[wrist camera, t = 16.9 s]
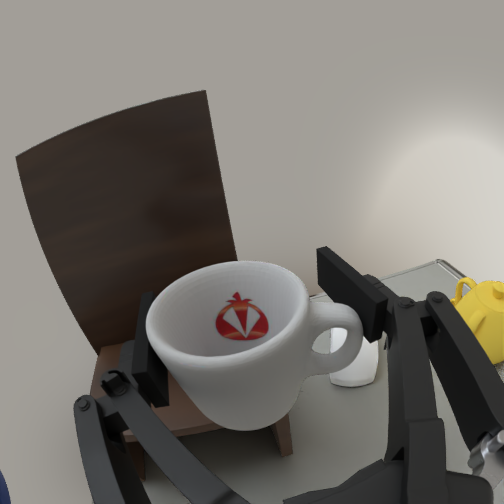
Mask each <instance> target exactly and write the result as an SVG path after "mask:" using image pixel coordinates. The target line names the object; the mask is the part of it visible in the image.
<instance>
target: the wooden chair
mask: <svg viewBox="0 0 504 504" xmlns="http://www.w3.org/2000/svg"><path fill="white" fill-rule="evenodd" d="M16 162H17V167H18V171H19V176H20V180H21V184H22V188H23V192H24V195H25V199H26V202H27V206H28V209H29V212H30V215H31V219H32V221H33V225H34V228H35V230H36V233H37V236H38V238H39V241H40V244H41V247H42V249H43V252H44V254H45V256H46V259H47V261H48V264H49V266H50V268H51V271H52V273H53V275H54V277H55V279H56V282H57V284H58V286H59V288H60V290H61V292H62V294H63V296H64V298H65V300H66V302H67V304H68V306H69V307H70V309H71V311H72V313H73V315H74V317H75V319H76V321H77V322H78V324H79V326H80V328H81V329H82V331H83V333H84V334H85V336H86V337H87V339H88V341H89V342H90V344H91V346H92V347H93V349H94V350H95V352H96V353H97V355H98V358H97V362H96V367H95V371H94V375H93V380H92V385H91V390H90V395H91V396H92V397H94V399H97V398H100V397H102V396H104V395H106V392H105V391H104V390H103V389H102V387H101V386H100V383H99V381H100V377H101V376H102V374H103V373H104V372H106V371H107V370H109V369H111V368H118V363H119V357H120V350H121V347H122V346H123V344H124V343H125V341H130V340H135V335H136V327H137V321H138V314H139V308H140V302H141V296H142V293H147V292H151V291H153V292H154V294H155V297H156V298H157V296H158V295H159V294H160V293H161V292H162V291H163V290H164V289H165V288H167V287H168V286H169V285H170V284H172V283H173V282H175V281H176V280H178V279H180V278H181V277H183V276H185V275H187V274H189V273H191V272H193V271H196V270H199V269H201V268H204V267H207V266H211V265H215V264H219V263H225V262H232V261H238V260H237V255H236V251H235V245H234V240H233V235H232V230H231V225H230V219H229V214H228V209H227V204H226V199H225V193H224V189H223V183H222V178H221V172H220V167H219V161H218V156H217V151H216V146H215V140H214V134H213V128H212V123H211V117H210V111H209V106H208V100H207V94H206V90H201V91H195V92H190V93H185V94H181V95H176V96H171V97H167V98H163V99H159V100H155V101H151V102H147V103H144V104H140V105H137V106H134V107H130V108H127V109H123V110H121V111H117V112H115V113H111V114H108V115H106V116H103V117H100V118H97V119H94V120H92V121H89V122H86V123H84V124H81V125H79V126H77V127H74V128H72V129H69V130H67V131H65V132H62V133H60V134H58V135H56V136H54V137H51V138H49V139H47V140H45V141H43V142H41V143H39V144H37V145H35V146H33V147H31V148H29V149H28V150H26V151H24V152H22V153H20V154H18V155H17V156H16ZM168 387H169V404H170V406H166V407H159V408H155V407H154V406H153V404H152V403H151V409H152V410H153V411H154V413H155V414H156V415H157V416H158V417H159V419H160V420H161V421H162V422H163V423H164V424H165V425H166V427H167V428H168V429H169V430H170V431H171V432H172V433H173V434H174V435H175V436H176V437H178V436H185V435H191V434H196V433H202V432H207V431H212V430H216V429H221V428H225V427H223V426H221V425H218V424H216V423H215V422H213V421H212V420H210V419H209V418H208V417H206V416H205V415H204V414H203V413H202V412H201V411H200V410H199V408H198V407H197V406H196V405H195V404H194V402H193V401H192V400H191V399H190V397H189V396H188V395H187V394H186V392H185V391H184V390H183V389H182V387H181V386H180V385H179V383H178V382H177V381H176V380H175V378H174V377H173V376H172V374H171V373H170V372H169V370H168ZM270 426H271V429H272V432H273V434H274V437H275V439H276V442H277V445H278V447H279V450H280V452H281V455H282V457H285V456H288V455H291V454H293V450H292V441H291V433H290V424H289V415H288V413H287V414H286V415H285V416H284V417H282V418H281V419H280V420H278V421H277V422H275V423H273V424H271V425H270ZM123 435H124V438H125V441H126V444H127V446H128V449H129V452H130V455H131V457H132V460H133V463H134V465H135V468H136V470H137V473H138V475H139V478H140V480H141V481H145V469H144V450H143V447H142V445H141V444H140V443H139V441H138V440H137V439H136V437H135V436H134V434H133V433H132V432H131V430H130V429H129V430H126V431H124V432H123Z"/></svg>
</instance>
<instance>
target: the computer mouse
mask: <svg viewBox="0 0 504 504" xmlns="http://www.w3.org/2000/svg"><path fill="white" fill-rule="evenodd" d="M346 336H347V330H346V329H343V328H331V329H330V337H331V344H330V353H333V352H335V351H337V350H338V349H339V348H340V347H341V346H342V345H343V343H344V342H345V340H346ZM377 365H378V340H377V341H375V342H373V343H369V342H368V341H367V340H366V338H365V337H364V336H363V342H362V347H361V349H360V352H359V354H358V355H357V357H356V359H355V360H354V361H353V362H352V363H351V364H350V365H349V366H347V367H346V368H344V369H342V370H340V371H338V372H334V373H330V374H329V377H330V381H331V383H333V384H336V385H340V386H347V387H356V386H362V385H366V384H369V383H371V382H373V381H374V378H375V374H376V370H377Z"/></svg>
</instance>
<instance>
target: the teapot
mask: <svg viewBox="0 0 504 504" xmlns="http://www.w3.org/2000/svg"><path fill="white" fill-rule="evenodd" d="M464 283H466V284H467V285H469V287H470V288H471V290H470V291H469V292H468V293H467V294H466V295H465V296H464V297H463V298H462V288H463V284H464ZM450 302H451V303H452V304H453V306H454V307H455V308H456V310H457V311H458V312H459V314H460V315H461V316H462V318H463V319H464V321H465V322H466V324H467V325H468V326H469V328H470V329H471V331H472V332H473V334H474V335H475V337H476V338H477V340H478V341H479V343H480V344H481V346H482V348H483V349H484V351H485V352H486V354H487V356H488V357H489V359H490V361H491V362H492V364H497V363H500V362H502V361H503V360H504V283H502V282H499V281H496V282H495V281H484V282H481V283H479V284H478V285H477V284H476V283H475V281H474V280H473V279H471V278H468V277H465V278H462V279H460V280H459V282H458V283H457V286H456V294H455V298H452V299H451V300H450ZM454 302H455V303H454Z"/></svg>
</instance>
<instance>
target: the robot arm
mask: <svg viewBox="0 0 504 504" xmlns="http://www.w3.org/2000/svg"><path fill="white" fill-rule="evenodd" d="M317 270H318V271H317V272H318V285H319V286H320V287H321V288H322V289H323V290H324V291H325V293H326V294H327V295H328V296H329V297H330V298H331V299H332V300H333V302H334V303H339V304H344V305H347V306H349V307H350V308H352V309H353V310H354V311H355V312H356V313H357V314H358V316H359V318H360V320H361V323H362V326H363V336H364V337H365V338H366V340H367V341H368V342H369V343H373V342H375V341H377V340H379V339H381V337H382V332H383V331H384V332H385V333H386V334H387V337H386V341H385V346H384V350H386V347H387V362H388V385H389V424H388V445H387V450H386V454H385V457H384V462H383V460H382V459H380V460H378V461H376V462H374V463H373V464H371V465H369V466H367V467H365V468H363V469H361V470H359V471H358V472H357V473H355V474H354V475H353V476H351V477H350V478H349V479H348V480H346V481H345V482H344V483H342V484H341V485H339V486H338V487H334V488H329V489H323V490H317V491H310V492H306V493H304V494H301V495H298V496H294V497H291V498H288V499H285V500H283V502H284V503H283V504H493V489H494V488H495V487H496V486H497V485H498V483H499V482H500V481H501V480H502V479H503V478H504V383H503V381H502V380H501V378H500V376H499V374H498V372H497V371H496V369H495V367H494V366H493V364H492V362H491V361H490V359H489V357H488V356H487V354H486V352H485V351H484V349H483V348H482V346H481V344H480V343H479V341H478V340H477V338H476V337H475V335H474V334H473V332H472V331H471V329H470V328H469V326H468V325H467V324H466V322H465V321H464V319H463V318H462V316H461V315H460V314H459V312H458V311H457V310H456V308H455V307H454V306H453V304H452V303H451V302H450V300H449V299H448V298H447V296H446V295H445V294H443V293H441V292H437V291H433V292H430V293H428V295H427V298H426V300H424V301H419V302H415V301H414V300H413V299H411V298H408V297H399V296H397V295H396V294H395V293H394V292H393V291H391V290H390V289H389V288H388V287H387V286H385V285H384V284H383V283H382V282H381V281H379V280H378V279H377V278H376V277H374V276H371V275H369V274H367V275H364V276H362V275H361V274H360V273H359V272H357V271H356V270H355V269H354V268H353V267H351V266H350V265H349V264H348V263H347V262H345V261H344V260H343V259H342V258H341V257H339V256H338V255H337V254H335V253H334V252H333V251H332V250H331V249H330V248H328V247H327V246H325V247H322V248H318V249H317ZM155 299H156V297H155V294H154V292H153V291H151V292H147V293H142V296H141V302H140V308H139V314H138V321H137V327H136V335H135V340H130V341H125V343H124V344H123V346H122V347H121V350H120V357H119V363H118V368H111V369H109V370H107V371H106V372H104V373H103V374H102V376H101V377H100V381H99V383H100V386H101V387H102V389H103V390H104V391H105V392H106V395H104V396H102V397H100V398H97V399H94V397H92V396H91V395H83V396H81V397H79V398H78V399H77V400H76V401H75V404H74V417H75V424H76V431H77V437H78V442H79V447H80V452H81V457H82V462H83V466H84V470H85V474H86V477H87V481H88V485H89V488H90V491H91V495H92V498H93V501H94V504H151V502H150V500H149V498H148V496H147V493H146V491H145V489H144V487H143V485H142V482H141V480H140V478H139V475H138V473H137V470H136V468H135V465H134V463H133V460H132V457H131V455H130V452H129V449H128V446H127V444H126V441H125V438H124V435H123V432H124V431H126V430H129V429H130V430H131V432H132V433H133V434H134V436H135V437H136V439H137V440H138V441H139V443H140V444H141V445H142V447H143V448H144V449H145V451H146V452H147V453H148V454H149V456H150V457H151V458H152V460H153V461H154V462H155V463H156V464H157V466H158V467H159V468H160V469H161V470H162V472H163V473H164V474H165V475H166V476H167V477H168V479H169V480H170V481H171V482H172V483H173V484H174V485H175V486H176V487H177V488H178V489H179V491H180V492H181V493H182V494H183V495H184V496H185V497H186V498H187V499H188V500H189V501H190V502H191V503H192V504H250V503H249V502H248V501H246V500H245V499H244V498H242V497H241V496H240V495H238V494H237V493H236V492H235V491H233V490H232V489H231V488H229V487H228V486H227V485H226V484H225V483H223V482H222V481H221V480H220V479H219V478H218V477H217V476H215V475H214V474H213V473H212V472H211V471H210V470H209V469H208V468H207V467H205V466H204V465H203V464H202V463H201V462H200V461H199V460H198V459H197V458H196V457H195V456H194V455H193V454H192V453H191V452H190V451H189V450H188V449H187V448H186V447H185V446H184V445H183V444H182V443H181V442H180V441H179V440H178V439H177V438H176V436H175V435H174V434H173V433H172V432H171V431H170V430H169V429H168V428H167V427H166V425H165V424H164V423H163V422H162V421H161V420H160V419H159V417H158V416H157V415H156V414H155V413H154V411H153V410H152V409H151V403H152V404H153V406H154V407H155V408H159V407H166V406H170V404H169V387H168V369H167V367H166V366H165V365H164V363H163V362H162V361H161V359H160V358H159V356H158V355H157V353H156V352H155V351H154V349H153V347H152V346H151V344H150V342H149V339H148V336H147V332H146V318H147V314H148V312H149V309H150V307H151V305H152V303H153V302H154V300H155ZM429 359H430V361H431V363H432V365H433V367H434V369H435V371H436V373H437V376H438V378H439V380H440V382H441V384H442V387H443V389H444V391H445V394H446V396H447V398H448V401H449V403H450V406H451V408H452V411H453V413H454V416H455V418H456V421H457V424H458V426H459V429H460V432H461V435H462V437H463V439H464V442H465V444H466V445H467V447H468V449H469V451H470V452H471V453H470V459H469V460H468V466H469V467H470V468H473V473H472V475H469V474H463V473H457V472H452V471H447V470H446V443H445V428H444V422H443V420H442V419H441V418H438V416H437V409H436V400H435V392H434V385H433V379H432V372H431V367H430V361H429Z"/></svg>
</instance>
